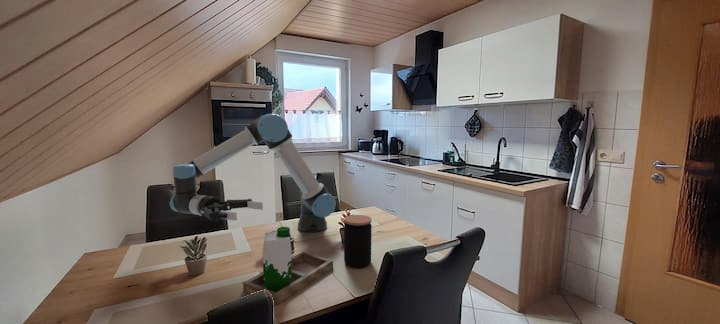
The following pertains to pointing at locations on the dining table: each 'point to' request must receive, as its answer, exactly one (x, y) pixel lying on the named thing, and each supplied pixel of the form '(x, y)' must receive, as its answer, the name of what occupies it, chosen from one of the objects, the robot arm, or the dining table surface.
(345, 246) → the coffee jar
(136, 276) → the dining table surface
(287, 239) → the fresh milk carton
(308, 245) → the dining table surface
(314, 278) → the walnut slot rack
